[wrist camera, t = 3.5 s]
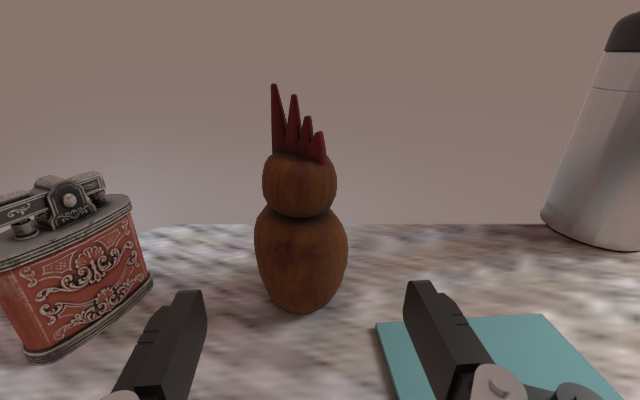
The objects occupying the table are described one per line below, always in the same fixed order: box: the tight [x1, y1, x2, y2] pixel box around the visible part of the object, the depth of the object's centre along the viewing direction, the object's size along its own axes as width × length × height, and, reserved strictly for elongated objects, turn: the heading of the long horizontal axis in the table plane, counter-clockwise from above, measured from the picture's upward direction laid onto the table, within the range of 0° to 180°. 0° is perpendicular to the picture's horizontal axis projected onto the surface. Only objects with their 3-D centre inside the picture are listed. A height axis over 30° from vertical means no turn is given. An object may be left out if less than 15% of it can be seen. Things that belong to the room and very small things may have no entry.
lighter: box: [0, 171, 154, 365], centre depth 19 cm, size 8×3×10 cm, turn 158°
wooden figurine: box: [254, 84, 348, 314], centre depth 20 cm, size 7×6×15 cm
